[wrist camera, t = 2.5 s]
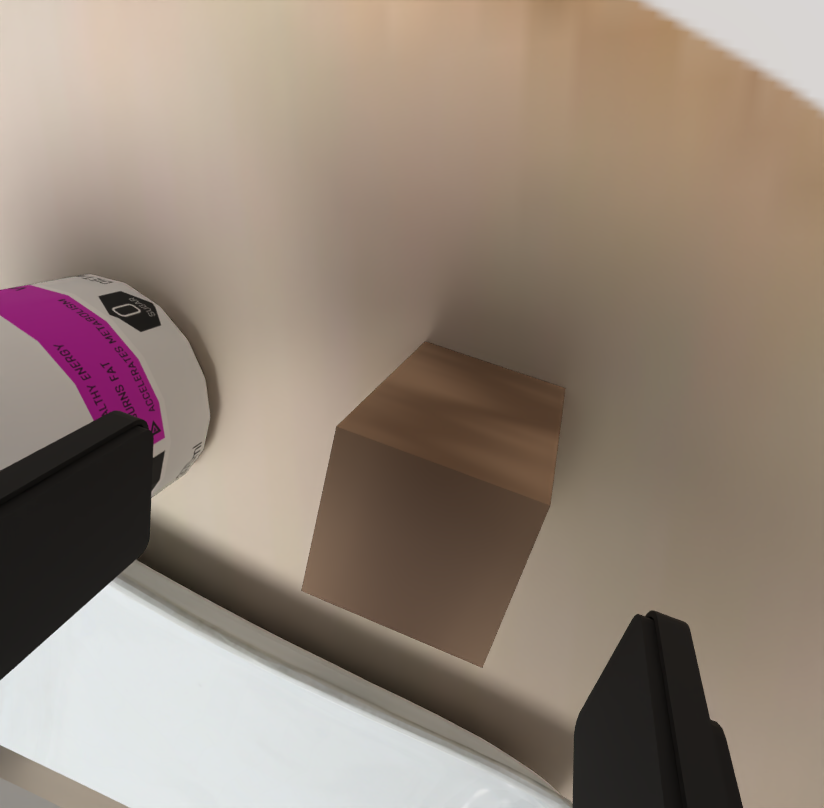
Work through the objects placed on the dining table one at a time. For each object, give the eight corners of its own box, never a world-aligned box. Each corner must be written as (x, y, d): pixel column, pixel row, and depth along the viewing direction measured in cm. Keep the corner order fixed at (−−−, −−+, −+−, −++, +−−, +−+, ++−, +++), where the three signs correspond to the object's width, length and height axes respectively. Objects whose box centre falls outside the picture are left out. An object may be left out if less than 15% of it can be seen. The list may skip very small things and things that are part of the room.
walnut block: (565, 387, 17) (550, 505, 11) (518, 508, 19) (482, 667, 13) (425, 341, 18) (336, 426, 12) (392, 462, 20) (301, 591, 14)
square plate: (377, 1013, 34) (352, 1109, 30) (-4, 782, 37) (-65, 844, 34) (590, 736, 22) (590, 841, 19) (8, 437, 26) (-85, 477, 22)
